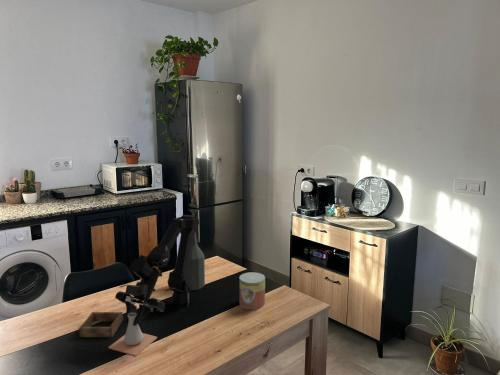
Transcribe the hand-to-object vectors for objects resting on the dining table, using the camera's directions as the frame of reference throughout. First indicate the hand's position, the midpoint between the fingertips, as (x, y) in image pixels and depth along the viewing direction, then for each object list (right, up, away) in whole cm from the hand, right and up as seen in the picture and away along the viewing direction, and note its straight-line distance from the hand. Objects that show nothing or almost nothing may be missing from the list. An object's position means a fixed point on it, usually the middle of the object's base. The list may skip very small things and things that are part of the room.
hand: (130, 324), depth 134 cm
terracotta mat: (0, -7, +2) cm, 8 cm away
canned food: (+43, -2, +33) cm, 54 cm away
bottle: (+16, +1, +49) cm, 52 cm away
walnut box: (-15, -6, +12) cm, 20 cm away
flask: (+1, -7, +3) cm, 7 cm away
